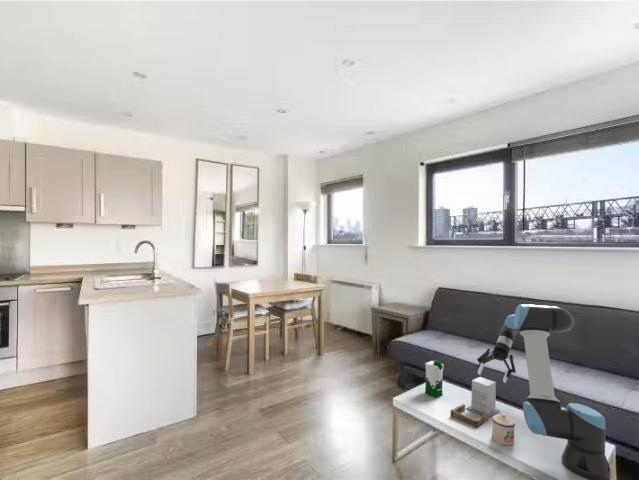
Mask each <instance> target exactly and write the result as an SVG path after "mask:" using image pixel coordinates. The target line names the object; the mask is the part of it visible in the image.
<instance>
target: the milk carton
mask: <svg viewBox="0 0 639 480" xmlns="http://www.w3.org/2000/svg"><path fill="white" fill-rule="evenodd" d="M424 365H425V366H424V367H425V388H424V389H425V390H424V394H425V395H428V396H430V397H432V398H434V399H437V398H439V397H441V396H443V372H444V365H445V364H443V363H442V361H441V360H439V359H435V360H430V361H427V362H425V363H424Z"/></svg>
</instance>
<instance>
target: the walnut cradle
mask: <svg viewBox="0 0 639 480" xmlns="http://www.w3.org/2000/svg"><path fill="white" fill-rule="evenodd" d="M465 410H466V405H465V404H464V403H462V404H460V405H458V406H456V407H455V408H452V409H451V410H450V418H453V419H456V420H458V421H459V422H461V423H465V424H466V425H469V426H471V427H473V428H474V429H478V428H479V427H480V426H482V425H484V424H485V423H487V422H488V421H489V418H488V416H489V414H484V415H483V416H482V415H480V417H478V418H476V419H474V418H471V417H469V416H467V415H465V414H463V413H464V412H465Z"/></svg>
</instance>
